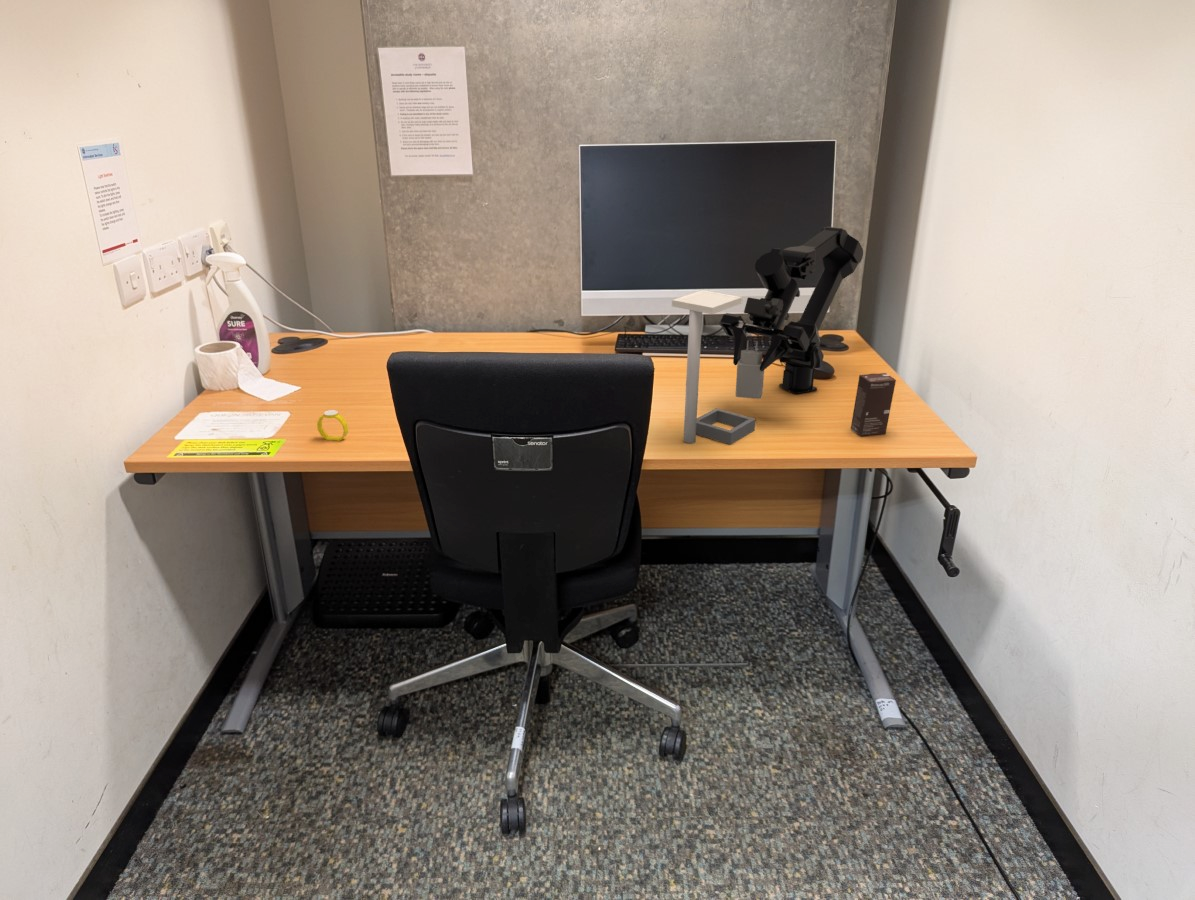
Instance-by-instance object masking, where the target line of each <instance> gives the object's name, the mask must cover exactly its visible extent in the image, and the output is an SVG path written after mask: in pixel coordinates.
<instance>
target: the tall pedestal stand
mask: <svg viewBox="0 0 1195 900" xmlns="http://www.w3.org/2000/svg"><path fill="white" fill-rule="evenodd" d="M741 304H743V296H739V295H732V294H726V293H721V292H716V291H710V290H704V289H702V290H698V291H696V292H693V293H692V292H691V293H690V294H686V295H684V296H679V297H677V298H674V299H671V307H672V308H673V307H674V308H679V309H683V310H688V311H689V315H688V316H689V317H688V334H687V335H688V336H687V337H688V338H687V339H688V340H687V356H686V357H687V358H686V377H685V378H686V380H685V398H684V400H685V404H684V420H683V421H684V423H683V440H682V441H683V442H684V443H685V444H695V443H696V438H697V436H701V437H704V438H708V439H710V440H714V441H717V442H720V443H724V444H727V445H729V446H730V445H732V444H734V443H736V442H737V441H739V440H741V439H743V438H744V437H745V436H747V435H749V434H750V433H752V432H754V431H755V430H756V421H757V419H756V418H752V417H750V416H746V415H742V414H739V413H735V412H732V411H727V410H725V409H720V408H714V409H712V410H710V411H708V412H706V413H704V414H702V415H700V416H698V403H699V402H698V401H699V400H698V399H699V384H700V383H699V381H700V368H701V367H700V363H701V345H702V343H701V342H702V329H703V327H702V326H703V313H704V314H709V315H714V314H717V313H720V312H722V311H725V310H727V309H731V308H733V307H735V306H738V305H741ZM717 422H718V423H721V424H724V425H728V426H730V427H731V426H732V427H733V428H731V429H727V428H723V427H721V426H716V425H714V424H715V423H717Z"/></svg>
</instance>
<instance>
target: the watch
mask: <svg viewBox="0 0 1195 900" xmlns="http://www.w3.org/2000/svg"><path fill="white" fill-rule="evenodd" d="M324 418H327V419H336V420H338V421H339V423H340V424H341V426H342V429H343V434H342V436H330V435H329V434H328V433H326V432H325V430H324V427H323V420H324ZM316 423H317V424H316V426H317V431H318V433H319V435H320V436H321V438H323V439H324V440H326V441H336V442H341V441H342V440H343V439H344V438H345V437H346V436H347V435H348V432H349V425H348V422H347V421H346V419H345V418H344V417H343V416H342V415H341V414H339V411H338V410H334V409H330V410H326V411H324V412H323V414H322V415H321V416H319V418H318V420H317V422H316Z"/></svg>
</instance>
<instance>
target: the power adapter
mask: <svg viewBox="0 0 1195 900" xmlns="http://www.w3.org/2000/svg"><path fill="white" fill-rule="evenodd" d="M758 341H759V340H756V342H755V349H754V350H752V349H749V345H748V342H750V340H749V339H748V340H747V349H746V350H742V351H741V359H740V360H739V361H738V363H737V365H736V379H735V380H736V381H735V382H736V383H735V397H736V398H745V399H757V400H760V399H762V398H763V393H764V390H763V389H764V379H765V378H764V377H765V370H764V371H760V365H761V363H762V360H763V352H762V351H761V350H758V344H759V342H758Z"/></svg>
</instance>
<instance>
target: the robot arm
mask: <svg viewBox="0 0 1195 900" xmlns="http://www.w3.org/2000/svg"><path fill="white" fill-rule="evenodd" d="M863 257H864V249H863V247H862V245H861V243H860V241H859V240H858V239H856V238H855V237H853V236H851V235H850V234H848V232H847V230H846V229H844V228H842V227H833V226H826V227H822V229H821V230H820V232H819V233H817V234H816V235H814V236H813V237H812V238H810V239H808V240H807V241H806V242H804V243H803V244H802V245H799V246H790V247H786V248H784V249H782V248H775V247H772V248H771V250H770V252H766V253H764V254H762V255H761V256H760V257H759V258H758V259H756V261H755V264H754V269H755V271H756V274H757V275H758V278H759V279H760V282H761V283H762V285H763V287H764V288H765V289H766V290H767V292H766V294H765V296H764V298H763V297H761V298H760V299H759V298H754V297H747V299H746V303H745V306H744V310H743V313H744V314H747V315H749V316H748V318H749V320H750V321H751V322H752V323H748V322H745V321H744V319H743V317H742V315H740V314H733V313H728V312H726V313H724V314H723V315H722V316H721V318H720V319H719V320H718V324H719V325H720V327H721V329H722V330H723V332H724V333H725V335H727V336H728V337H730V338H734V349H733V359H732V361H733V362H732V363H733V365H734V366H737V363H738V361H739V360H741V351H742V350H747V340H749V338H748V335H749V334H752V335H757V336H762V337H767V338H771V340H770V345H769V346H768V348H767V351H766V353H765V354H764V357H762V363H761V365H760V371H764V372H765V370H766V369H767V368H768V367H770V366H771V365H772V364H773V363H775V362H776V361H778V360H779V363H784V364H785V366H784V369H783V373H782V374H783V375H782V382H781V383H779V384H778V387H780V388H782V389H784V390H786V391H788V392H789V393H792V394H794V395H799V394H804V393H811V392H815V391H818V387H816V386H814V380H815V372H816V369H820V368H821V367H822V365H823V361H824V356H825V355H824V353H823V350H822V349H821V347H820V345H821V339H820V333H819V330H820V328H821V326H822V324H823V322H824V319H825V318H826V316H827V313H828V311H829V309H830V307H831V305H832V302H833V300H834V298H835V296H836V295H837V292H838V290H839V288H840V285H841V283H842V281H843V280H844V279H845V278H847V277H849V276H850V275H852V274H853V273H854V272H855V271H856V269H857V266H858V265H859V264H860V263H861V262H862V260H863ZM821 260H822V264H823V270H822V273H821V274H820V277H819V279H818V281H817V283H816V285H815V287H814V289H813V292H812V294H811V296H810V298H809V300H808V302H807V304H806V306H805V308H804V310H803V313H802V314H801V317H800V319H799V320H797V321H790V322H789V323H788V324H787V325H784V322H785V321H788V320H789V317H790V314H789V311H790V309H791V307H792V304H793V302H794V300H795V298H799V297H800V296H801V291H800V287H799V283H797V281H796V279H798V280H802V281H803V280H805V281H806V280H808V279H809V278H810V277H811V276H812V275H813V274H814V272H816V264H818V262H819V261H821ZM783 325H784V327H783ZM782 327H783V329H782ZM750 343H751V341H749V342H748V346H749V345H750Z"/></svg>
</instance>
